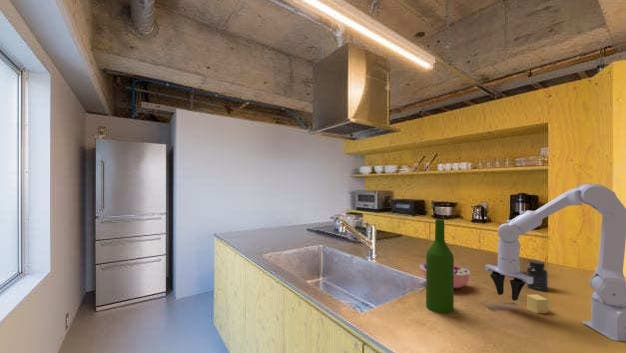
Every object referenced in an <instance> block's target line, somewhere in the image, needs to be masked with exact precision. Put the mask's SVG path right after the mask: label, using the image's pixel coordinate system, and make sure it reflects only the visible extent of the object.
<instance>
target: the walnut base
mask: <svg viewBox="0 0 626 353" xmlns="http://www.w3.org/2000/svg"><path fill="white" fill-rule="evenodd" d="M480 303H481V304H482V305H483V306H485V307H486V308H487V309H488V310H490V311H491V312H492V313H498V312H505V311H511V310H517V309H522V307H521V306H520V305H518V304H517V303H516V302H507V301H506V302H505V301H504V302H501V301H499V302H497V301H480Z"/></svg>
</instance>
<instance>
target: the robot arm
mask: <svg viewBox="0 0 626 353" xmlns="http://www.w3.org/2000/svg"><path fill="white" fill-rule="evenodd" d="M583 204H585V205H588V206H590V207H592V208H593V209H594V210H595V211H596V212H598V213H599V214H600V215H601V217H602V219H601V229H600V238H599V239H600V240H599V248H598V249H599V250H598V252H599V253H598V263H597V266H596V268H595V271H594V275H593V276H591V278H590V279H589V284H590V287H591V288H592V290H593V293H592V294H591V295H590V297H591V298H590V299H591V300H590V301H591V304H590V307H591V308H590V311H591V312H590V313H591V314H590V315H591V316H590V319H591V320H590V321H587V320H585V321H582V324H584V325H586V326H587V327H589V328H590V329H592V330H594V331H596V332H598V333H600V334H601V335H603V336H604V337H606V338H608V339H610V340H612V341H613V342H616V341H617V342H626V278H625V275H624V264H625V263H624V262H625V251H626V207H625V206H624V204H623V203H622V201H621V200H620V199H619V198H618V196H617V194H616V192H615V191H613V190H611V189H610V188H608V187H607V186H605V185H602V184H597V183H594V184H593V183H582V184H580V185H577V187H576V188H575V187H574V188H571V189H569V190H567V191H566V192H563V193H561V194H560V195H558V196H556V197H555V198H553V199H552V200H550V201H549V202H547V203H545V204H544V205H542V206H540V207H539V208H537V209H536V210H528V209H527V210H525V211H523V210H521V211H520V212H519V215H517V216H515V217H514V218H512V219H507V220H506V222H507V223H502V224H500V225H499V226H498V229H497V234H498V244H497V265H492V264H489V263H488V264H485V267H484V270H485V271H486V272H491V273H490V278H491V279H492V281H493V283H494V286H495V289H496V292H497V295H499V296H501V295H504V286H505V285H504V283H505V278H506V277H508V278H511V279H510V280H509V283H510V287H511V300H512V301H517V300H519V297H520V293H521V291H522V289H523V288H524V286H525V285H527V283H528V284H532V283H533V277H530V276H527V274H525V273H522V272H521V271H520V272H518V246H517V240H518V241H519V239H520V238H519V237H520V236H521V235H525V234H527V233H529V232H531V231H532V230H534V229H537V228H538V227H540V226H542V224H543V219H546V218H547V217H549V216H551V215H552V214H553V215H554V214H555V213H557V212H559V211H561V210H563V209H565V208H566V207H569V206H570V207H571V206H583Z"/></svg>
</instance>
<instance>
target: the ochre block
mask: <svg viewBox="0 0 626 353" xmlns="http://www.w3.org/2000/svg"><path fill="white" fill-rule="evenodd" d="M526 309H527V310H530V311H531V312H534V313H536V314H548V312H549V299H548V298H546V297H544V296H541V295H539V294H526Z"/></svg>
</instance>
